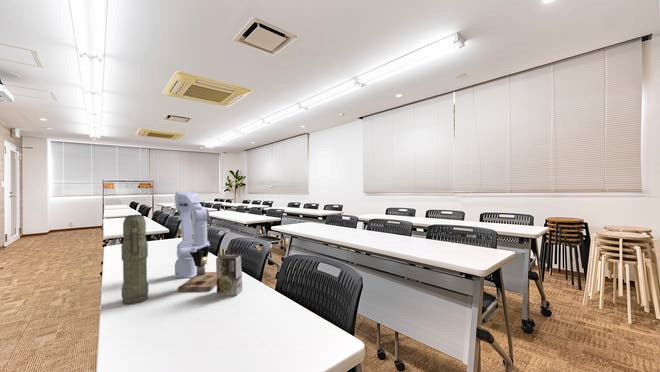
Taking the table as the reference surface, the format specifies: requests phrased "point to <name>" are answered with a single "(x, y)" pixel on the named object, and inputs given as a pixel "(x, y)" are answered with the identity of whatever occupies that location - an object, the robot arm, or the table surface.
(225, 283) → the coffee box
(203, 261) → the gold rounded piece
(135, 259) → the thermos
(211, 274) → the board
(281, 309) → the table surface
